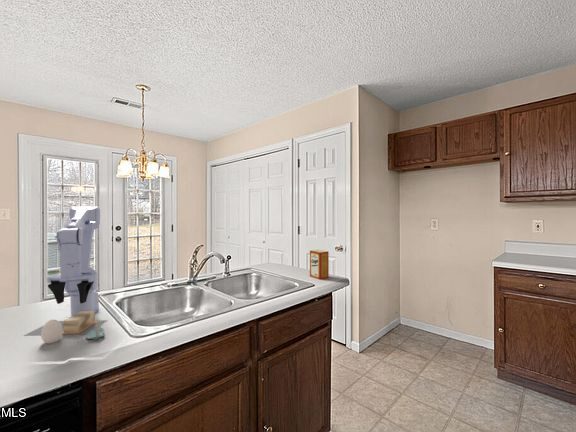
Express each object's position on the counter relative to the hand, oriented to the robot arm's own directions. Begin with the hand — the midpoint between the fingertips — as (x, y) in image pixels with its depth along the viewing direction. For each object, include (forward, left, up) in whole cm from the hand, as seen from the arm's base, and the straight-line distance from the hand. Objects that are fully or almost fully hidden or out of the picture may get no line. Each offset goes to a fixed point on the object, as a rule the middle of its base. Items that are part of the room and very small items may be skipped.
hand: (71, 302), depth 100 cm
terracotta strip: (0, +2, -9) cm, 9 cm away
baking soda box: (-71, +94, -10) cm, 119 cm away
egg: (+10, +1, -10) cm, 14 cm away
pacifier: (+8, +12, -10) cm, 17 cm away
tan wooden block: (0, +2, -9) cm, 9 cm away
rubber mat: (0, -2, -9) cm, 10 cm away
